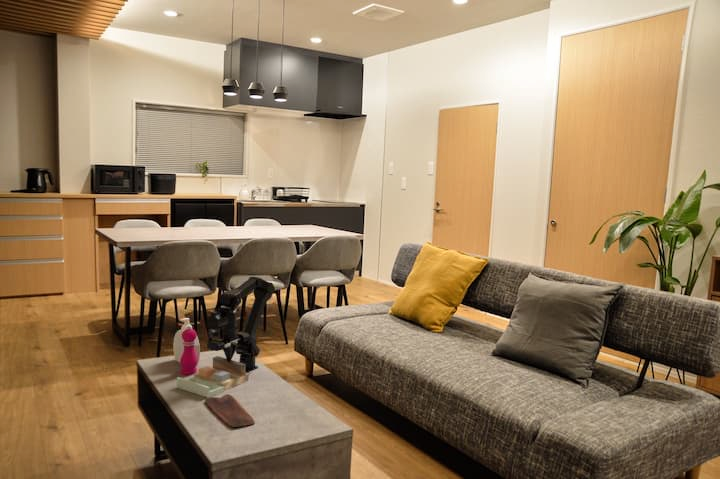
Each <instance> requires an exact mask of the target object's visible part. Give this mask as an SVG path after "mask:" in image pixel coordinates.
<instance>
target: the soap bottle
mask: <svg viewBox="0 0 720 479" xmlns="http://www.w3.org/2000/svg"><path fill="white" fill-rule="evenodd" d="M179 321H180V322H184V324H183V325H182V326H181V329H179V330H177V331H176V333H175V334H174V338H173V342H172V343H173V344H172V345H173V346H172V348H173V355H174V361H175V362H178V363H179V364H180V359H181V357H182V355H183V352H184V345H183V341H184V340H183V339H182V333H183V331H184V330H186V329H187V327H188V326H191V327H192V328H191V329H193V326H192V325H191V324H190V318H189V317H183V318H180V319H179ZM194 351H195V354H196V356H197V359H198V364H199V363H200V362H199V361H200V357H201V347H200V340H199V337H198V336H197V337H196V339H195V345H194ZM198 364H197V365H196V366H198Z"/></svg>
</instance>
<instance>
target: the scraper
mask: <svg viewBox="0 0 720 479" xmlns="http://www.w3.org/2000/svg"><path fill="white" fill-rule="evenodd" d="M212 368H215V369H217V370H222V371H225V372H229V373H230V374H234V375H237V376H240V377H242V376H244V375H245V373H246V371H245V369H246V364H243V363H240V362H239V361H235V360H232V359H231V361H227V358H226V357H221V356H218V355H217V356H214V357H212Z"/></svg>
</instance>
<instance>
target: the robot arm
mask: <svg viewBox="0 0 720 479" xmlns="http://www.w3.org/2000/svg"><path fill="white" fill-rule="evenodd" d="M275 289H276V288H275V285H274V283H273V282H270V281H267V280H264V279H262V278H261V277H259V276H249V278H248V279H247V280H246V281H244V282H243V283H241V284H240V285H238V286H236V288H234V289H230V290H227V291H224V292H222V293H221V294H220V296H219V297H218V300H217V301H216V304H215V307H214V308H213V311H212V312H211V314H210V316H208V317H207V320H206V326H207V327H208V328H209V329H208V333H207V334H208V338H210V339H212V340H210V341H207V343H206V349H209V350H211V351H212V350H213V351H216V352H219V351H223V352H224V356H225V358H226V359H227V361H231V360H232V359H233V356H234V355H235V353H236V355H239V361H238V362H240V363H243V364H246V369H245V372H250V371H251V372H252V371H253V370H256V369H258V368H259V366H257V365H256V357H258V356H259V354H260V351H261V349H260V348H259V347H258V345H257V342H258V340H257V339H258V338H257V336H256V334H257V330H258V326H259V325H260V321H261V318H262V316H263V312H264V308H265V306H266V303H267V302H268V301H270V300H271V298H272V297H273V294H274V292H275ZM251 292H252V293H253V296H254V297H253V298H254V301H253V303H252V306H251V310H250V313H249V316H248V318H247V321H246V324H245V327H244V329H243V331H238V332H237V330H239V326H238V325H237V312H240V308H239V307H238V306H239V305H240V304H242V299H244V297H246V296H247V295H249V294H250V293H251Z"/></svg>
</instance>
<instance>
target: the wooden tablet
mask: <svg viewBox="0 0 720 479" xmlns="http://www.w3.org/2000/svg"><path fill="white" fill-rule="evenodd" d="M204 401H205V403H206V404H207V406H209V408H210V409H211V410H212V411H213V412H214V413H215V414H216V415H217V416H218V417H219V418H221V419H222V421H224V422H225V423H226V424H227V425H228V426H230V427H232V428H235V427H236V428H237V427H245V426H249V425H253V424H256V422H255V419H254V418H253V416H251V414H249V412H247V410H246V409H245V408H244V407H243V406H242V404H240V402H239V401H238V400H237V399H236V398H235V397H234V396H232V395H231V394H224V395H223V396H221V397H215V396H212V397H210V398H205V399H204Z"/></svg>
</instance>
